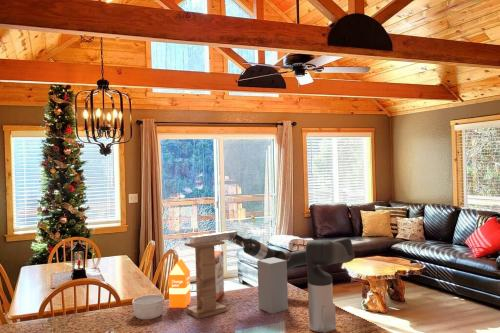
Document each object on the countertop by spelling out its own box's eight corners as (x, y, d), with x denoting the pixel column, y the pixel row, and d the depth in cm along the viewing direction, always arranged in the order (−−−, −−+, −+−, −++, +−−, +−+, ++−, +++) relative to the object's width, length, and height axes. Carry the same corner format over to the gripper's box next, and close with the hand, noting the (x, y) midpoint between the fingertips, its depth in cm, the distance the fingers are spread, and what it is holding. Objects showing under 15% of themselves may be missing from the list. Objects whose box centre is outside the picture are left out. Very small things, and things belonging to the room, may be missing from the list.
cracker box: (217, 301, 201) (215, 256, 201) (204, 301, 202) (203, 256, 202) (225, 292, 215) (223, 250, 215) (213, 292, 216) (211, 250, 216)
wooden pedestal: (226, 311, 188) (224, 241, 187) (198, 318, 179) (195, 245, 179) (214, 305, 196) (212, 238, 196) (186, 312, 187) (184, 242, 187)
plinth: (288, 309, 188) (286, 260, 187) (271, 313, 182) (270, 263, 182) (274, 304, 195) (273, 257, 195) (258, 308, 190) (257, 260, 189)
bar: (237, 238, 195) (237, 231, 195) (194, 244, 182) (193, 237, 182) (233, 237, 198) (233, 230, 198) (190, 243, 185) (190, 236, 185)
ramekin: (137, 322, 177) (136, 305, 177) (129, 313, 188) (128, 297, 188) (168, 316, 183) (168, 300, 183) (159, 308, 195) (158, 292, 195)
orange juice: (191, 301, 203) (189, 258, 203) (186, 307, 194) (184, 262, 194) (174, 301, 204) (173, 258, 204) (169, 307, 195) (167, 262, 195)
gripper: (261, 258, 197) (235, 245, 188) (243, 254, 208) (218, 241, 200) (267, 243, 199) (242, 229, 191) (249, 239, 210) (224, 226, 202)
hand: (229, 235), depth 195 cm, fingers open, 8 cm apart
